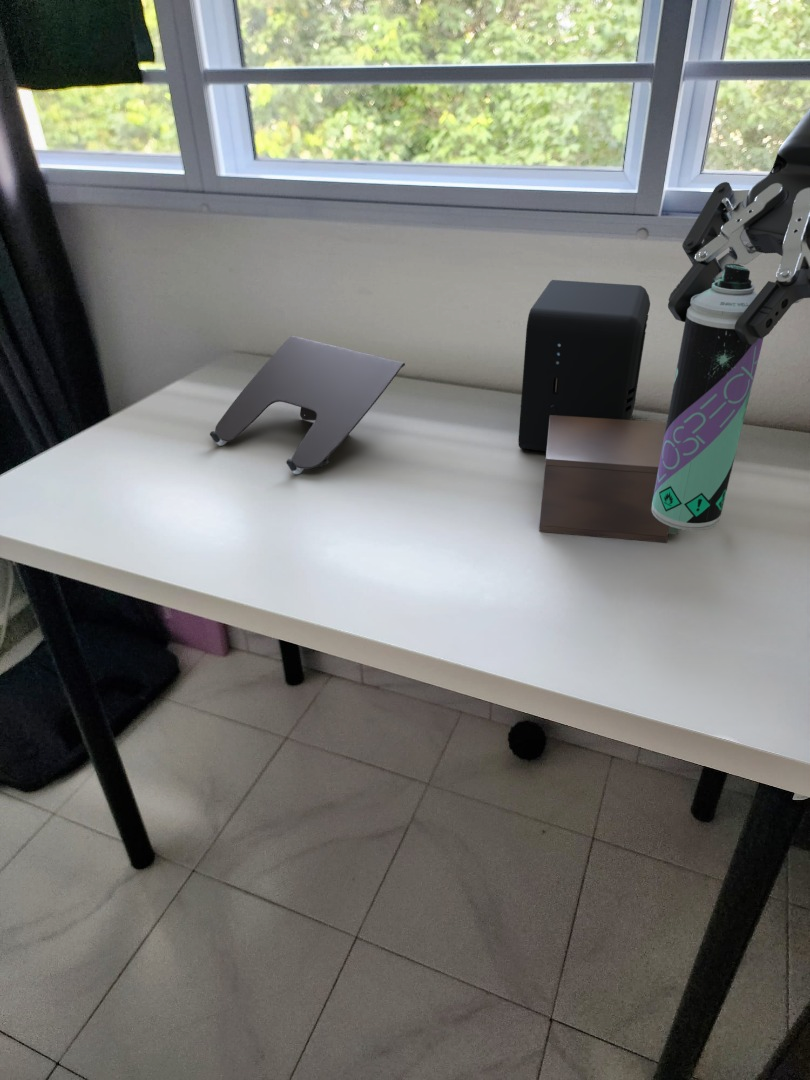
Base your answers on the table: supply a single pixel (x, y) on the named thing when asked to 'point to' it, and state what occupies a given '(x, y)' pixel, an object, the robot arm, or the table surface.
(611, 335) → the black nas enclosure
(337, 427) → the laptop tray
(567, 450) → the cabinet
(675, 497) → the spray can
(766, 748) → the table surface
